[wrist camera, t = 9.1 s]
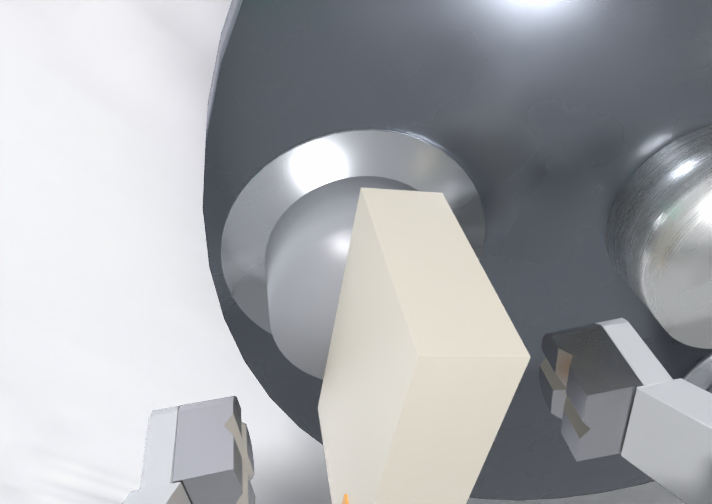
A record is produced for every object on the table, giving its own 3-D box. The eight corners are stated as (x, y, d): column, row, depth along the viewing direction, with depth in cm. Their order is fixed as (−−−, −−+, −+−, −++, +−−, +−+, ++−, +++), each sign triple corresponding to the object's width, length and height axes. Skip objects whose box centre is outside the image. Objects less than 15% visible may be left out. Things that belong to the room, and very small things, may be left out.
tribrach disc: (855, 404, 27) (967, 514, 23) (262, 498, 24) (270, 643, 20) (1428, -463, 12) (2026, -588, 8) (77, -498, 9) (-40, -726, 5)
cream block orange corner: (278, 134, 13) (310, 355, 8) (477, 150, 14) (621, 356, 9) (255, 348, 16) (268, 601, 11) (417, 349, 17) (497, 582, 12)
